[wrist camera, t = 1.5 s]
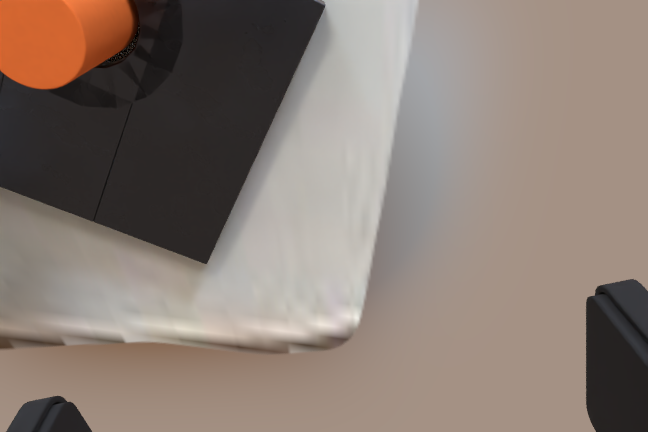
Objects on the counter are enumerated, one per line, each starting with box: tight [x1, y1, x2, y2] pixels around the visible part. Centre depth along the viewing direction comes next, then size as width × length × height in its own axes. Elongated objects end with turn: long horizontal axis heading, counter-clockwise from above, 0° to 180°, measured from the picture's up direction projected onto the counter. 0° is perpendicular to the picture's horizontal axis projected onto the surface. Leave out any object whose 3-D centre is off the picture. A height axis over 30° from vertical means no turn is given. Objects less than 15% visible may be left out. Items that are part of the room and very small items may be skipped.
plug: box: [0, 0, 139, 89], centre depth 26 cm, size 4×4×8 cm
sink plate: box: [0, 0, 325, 264], centre depth 30 cm, size 20×18×2 cm
